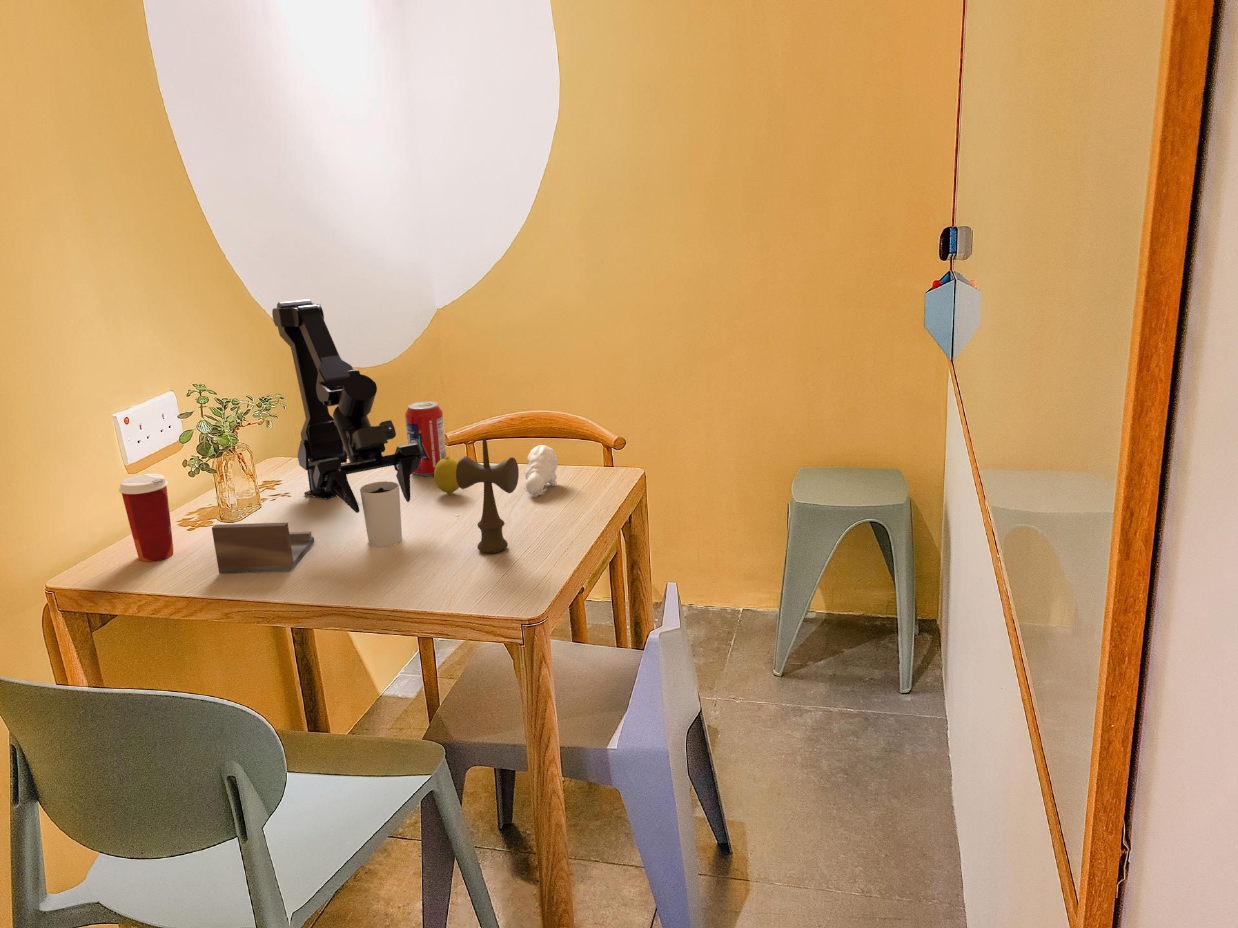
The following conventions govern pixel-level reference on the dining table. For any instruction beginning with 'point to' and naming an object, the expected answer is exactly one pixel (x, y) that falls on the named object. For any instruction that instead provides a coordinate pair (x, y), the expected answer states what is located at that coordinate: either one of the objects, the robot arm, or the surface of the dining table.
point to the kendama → (489, 494)
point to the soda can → (426, 434)
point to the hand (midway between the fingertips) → (383, 506)
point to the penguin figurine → (540, 469)
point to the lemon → (446, 475)
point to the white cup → (382, 513)
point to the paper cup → (148, 515)
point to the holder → (259, 547)
